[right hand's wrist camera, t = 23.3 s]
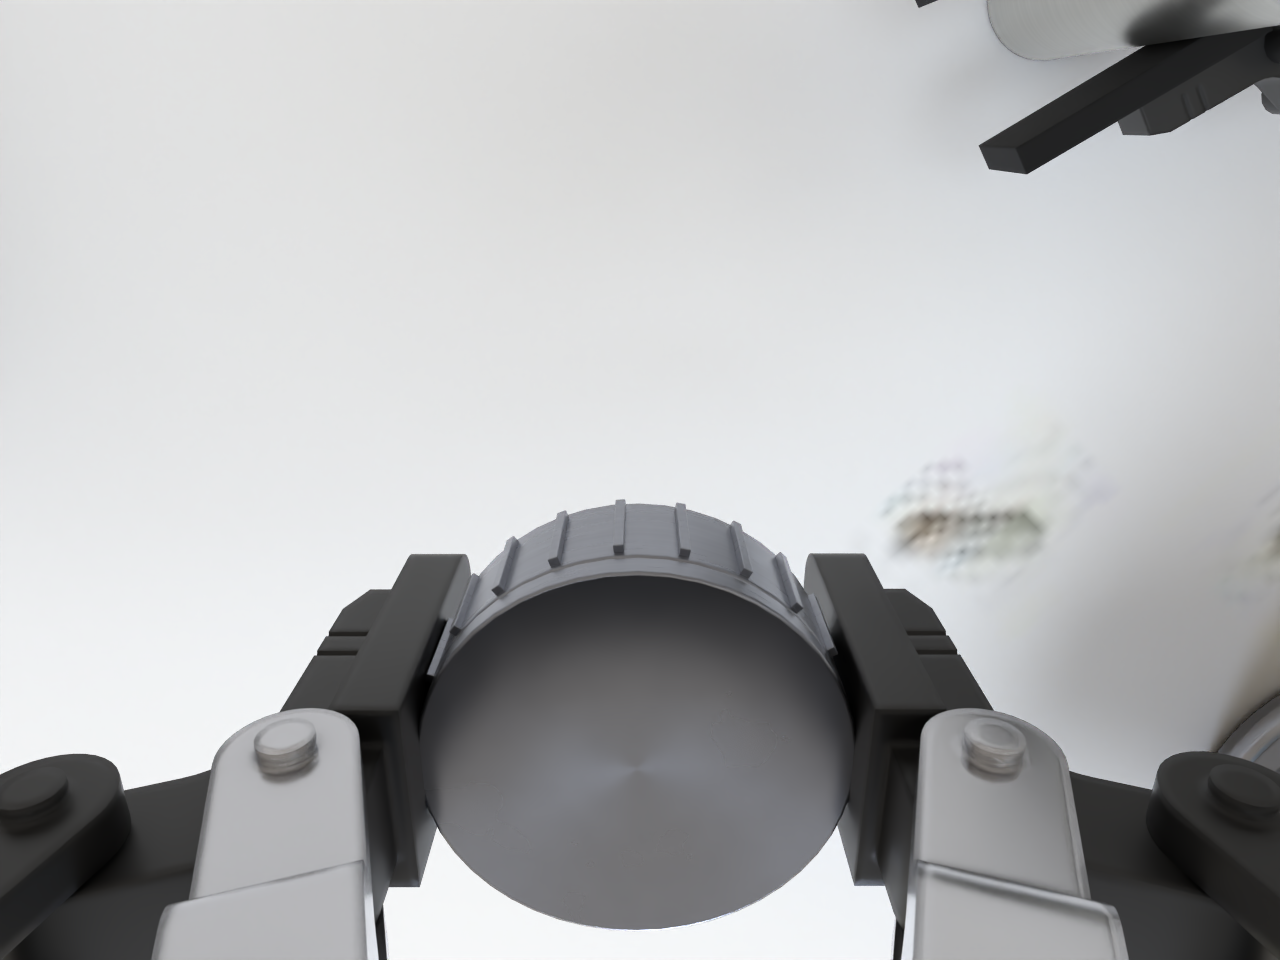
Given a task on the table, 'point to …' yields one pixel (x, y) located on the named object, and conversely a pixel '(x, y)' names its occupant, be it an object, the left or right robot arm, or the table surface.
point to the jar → (1118, 23)
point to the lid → (636, 721)
